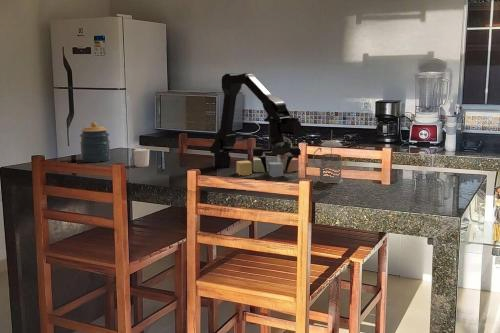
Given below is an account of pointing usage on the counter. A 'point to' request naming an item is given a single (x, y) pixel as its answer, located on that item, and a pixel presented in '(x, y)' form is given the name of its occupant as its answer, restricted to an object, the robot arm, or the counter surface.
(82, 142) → the canister
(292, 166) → the terracotta block
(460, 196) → the counter surface
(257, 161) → the sage block
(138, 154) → the white cup
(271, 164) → the grey cube
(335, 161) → the french press
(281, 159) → the beer glass
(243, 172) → the ochre block
